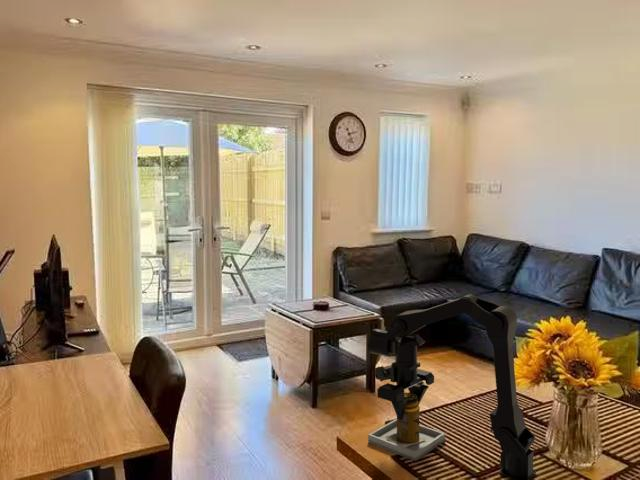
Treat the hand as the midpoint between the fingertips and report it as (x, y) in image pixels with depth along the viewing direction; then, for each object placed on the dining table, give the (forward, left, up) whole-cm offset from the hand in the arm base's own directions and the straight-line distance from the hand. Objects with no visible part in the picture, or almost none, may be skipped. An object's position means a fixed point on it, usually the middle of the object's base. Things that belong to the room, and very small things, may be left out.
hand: (406, 415), depth 145 cm
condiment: (0, +1, -7) cm, 7 cm away
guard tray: (0, 0, -7) cm, 7 cm away
